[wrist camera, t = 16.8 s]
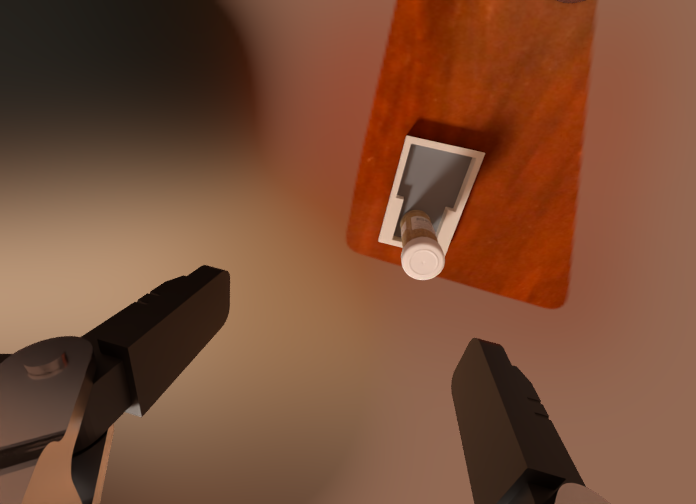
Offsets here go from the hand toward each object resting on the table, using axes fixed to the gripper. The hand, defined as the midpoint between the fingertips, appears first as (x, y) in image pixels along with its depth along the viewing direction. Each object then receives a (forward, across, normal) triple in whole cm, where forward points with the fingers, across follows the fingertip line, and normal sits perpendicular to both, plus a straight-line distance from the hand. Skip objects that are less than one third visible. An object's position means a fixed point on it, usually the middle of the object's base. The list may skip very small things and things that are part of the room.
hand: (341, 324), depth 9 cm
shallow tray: (+34, -6, +2) cm, 35 cm away
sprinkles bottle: (+34, -6, +6) cm, 35 cm away
